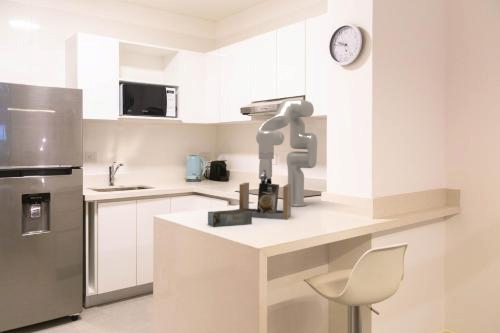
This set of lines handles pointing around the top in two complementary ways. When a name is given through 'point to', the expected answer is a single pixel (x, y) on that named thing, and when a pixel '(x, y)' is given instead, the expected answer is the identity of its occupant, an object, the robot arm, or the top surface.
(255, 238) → the top surface
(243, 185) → the wooden book rack
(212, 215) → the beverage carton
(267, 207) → the coffee box
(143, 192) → the top surface
